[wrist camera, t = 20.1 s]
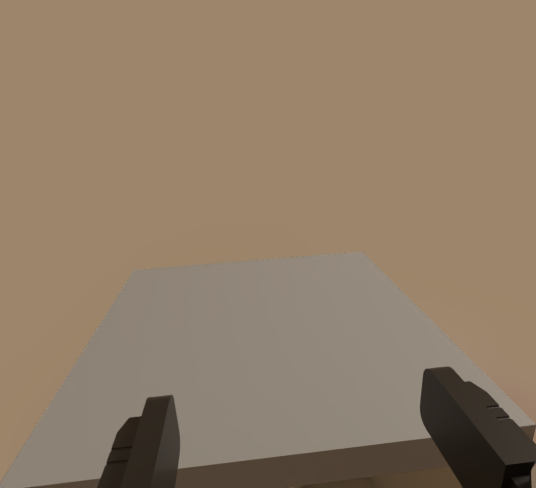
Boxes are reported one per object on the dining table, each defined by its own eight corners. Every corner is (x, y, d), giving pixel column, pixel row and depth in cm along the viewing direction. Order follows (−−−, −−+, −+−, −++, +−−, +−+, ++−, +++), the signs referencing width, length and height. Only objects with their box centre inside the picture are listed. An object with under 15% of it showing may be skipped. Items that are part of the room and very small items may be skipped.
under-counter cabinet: (356, 421, 49) (362, 251, 42) (472, 698, 26) (536, 424, 18) (164, 444, 47) (133, 270, 40) (101, 765, 24) (-6, 491, 16)
